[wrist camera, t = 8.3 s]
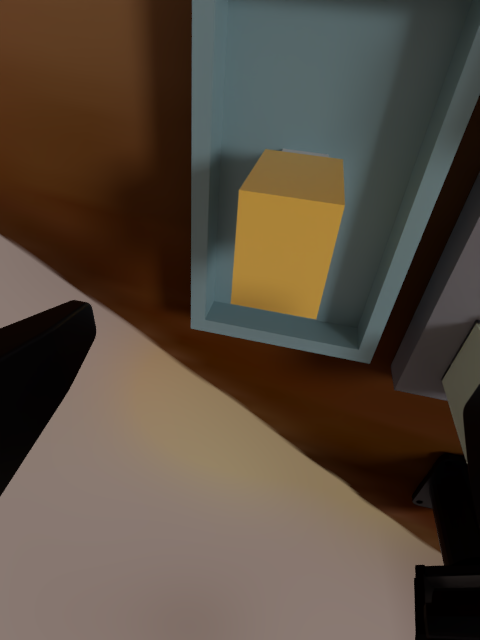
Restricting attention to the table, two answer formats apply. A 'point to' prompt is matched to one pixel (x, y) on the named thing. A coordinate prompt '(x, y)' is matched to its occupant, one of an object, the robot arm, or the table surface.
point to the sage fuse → (463, 378)
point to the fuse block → (443, 309)
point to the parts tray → (327, 144)
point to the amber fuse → (287, 231)
